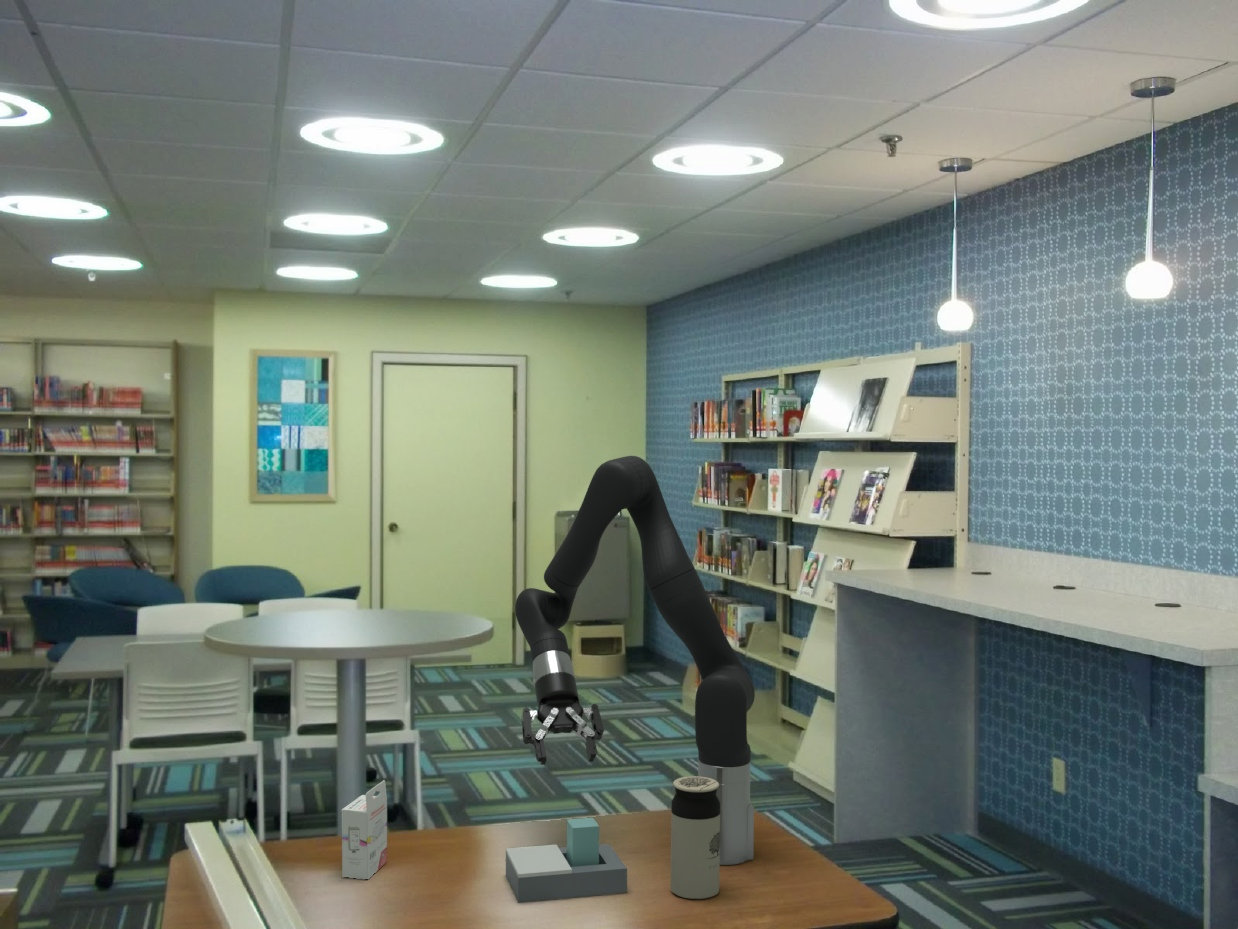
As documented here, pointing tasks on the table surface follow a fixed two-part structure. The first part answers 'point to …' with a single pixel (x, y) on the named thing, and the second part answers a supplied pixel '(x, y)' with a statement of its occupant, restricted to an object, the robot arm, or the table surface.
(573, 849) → the teal peg
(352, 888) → the table surface
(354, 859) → the ink cartridge box
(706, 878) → the travel mug
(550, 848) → the rail
